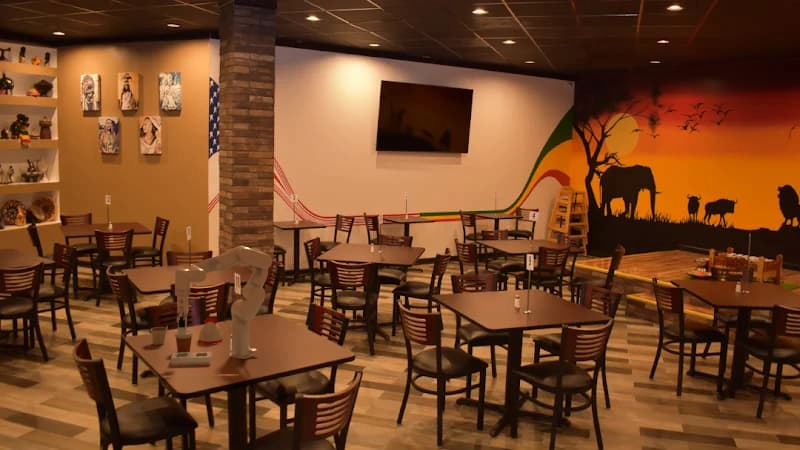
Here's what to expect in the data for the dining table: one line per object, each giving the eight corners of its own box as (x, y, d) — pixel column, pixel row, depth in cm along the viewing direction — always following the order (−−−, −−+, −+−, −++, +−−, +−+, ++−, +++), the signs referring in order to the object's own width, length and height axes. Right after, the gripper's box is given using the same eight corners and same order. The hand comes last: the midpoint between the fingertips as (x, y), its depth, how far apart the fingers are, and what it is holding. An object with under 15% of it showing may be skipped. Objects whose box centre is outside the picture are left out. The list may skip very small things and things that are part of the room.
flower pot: (170, 342, 400) (170, 327, 400) (162, 346, 391) (163, 331, 390) (154, 340, 401) (154, 326, 400) (147, 345, 392) (147, 330, 391)
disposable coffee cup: (174, 356, 373) (174, 335, 372) (175, 351, 383) (175, 330, 381) (192, 355, 376) (192, 334, 375) (192, 350, 385) (193, 330, 384)
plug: (186, 333, 362) (186, 315, 361) (185, 335, 358) (185, 317, 357) (177, 333, 361) (177, 315, 360) (176, 335, 357) (176, 317, 356)
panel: (211, 360, 369) (211, 351, 368) (210, 366, 359) (210, 357, 359) (173, 361, 365) (173, 352, 364) (171, 367, 355) (171, 358, 355)
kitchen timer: (218, 344, 399) (219, 319, 398) (195, 343, 399) (195, 318, 398) (225, 338, 413) (225, 314, 411) (202, 337, 413) (203, 313, 412)
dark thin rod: (206, 366, 359) (206, 364, 358) (206, 367, 358) (206, 365, 358) (177, 369, 353) (177, 367, 353) (177, 369, 352) (177, 367, 352)
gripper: (188, 295, 349) (188, 330, 351) (191, 288, 366) (191, 322, 368) (173, 295, 348) (173, 330, 350) (176, 288, 364) (176, 322, 366)
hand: (182, 325), depth 359 cm, fingers closed on plug, 4 cm apart
